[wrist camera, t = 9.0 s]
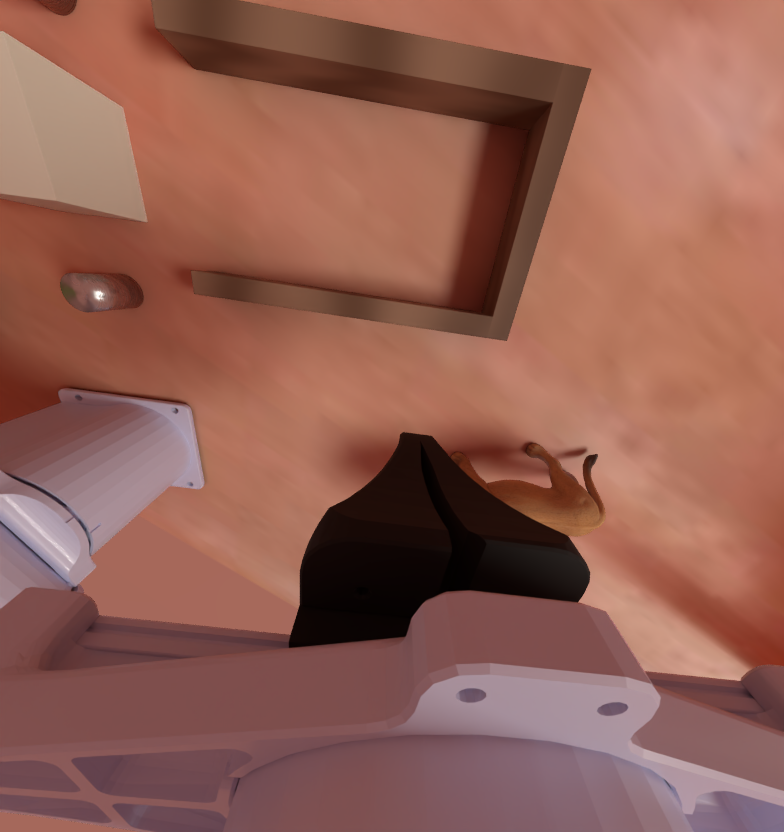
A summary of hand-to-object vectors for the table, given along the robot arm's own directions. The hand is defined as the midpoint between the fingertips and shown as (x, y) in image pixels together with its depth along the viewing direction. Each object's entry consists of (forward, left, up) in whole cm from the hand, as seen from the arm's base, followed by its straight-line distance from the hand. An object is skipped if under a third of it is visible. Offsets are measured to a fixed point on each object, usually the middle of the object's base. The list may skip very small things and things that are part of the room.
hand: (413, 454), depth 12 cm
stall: (-5, +10, -9) cm, 14 cm away
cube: (-19, +10, -10) cm, 24 cm away
